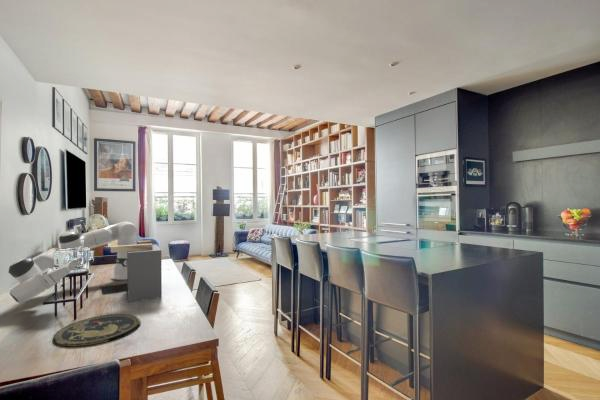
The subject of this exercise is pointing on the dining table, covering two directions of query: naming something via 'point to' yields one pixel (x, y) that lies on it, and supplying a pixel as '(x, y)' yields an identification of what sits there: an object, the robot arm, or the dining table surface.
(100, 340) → the decorative plate
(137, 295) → the grey upright box
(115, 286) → the tablet
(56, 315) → the dining table surface
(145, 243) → the walnut offcuts
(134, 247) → the birch lath
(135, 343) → the dining table surface
